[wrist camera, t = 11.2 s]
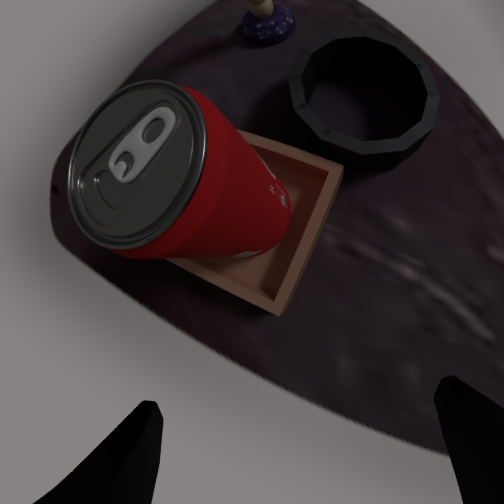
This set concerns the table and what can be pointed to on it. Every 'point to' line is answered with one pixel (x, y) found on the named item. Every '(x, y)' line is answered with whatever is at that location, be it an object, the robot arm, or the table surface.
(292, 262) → the terracotta tray
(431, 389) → the table surface
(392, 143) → the steel collar
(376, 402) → the table surface
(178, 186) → the beverage can
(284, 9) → the toy lamp
